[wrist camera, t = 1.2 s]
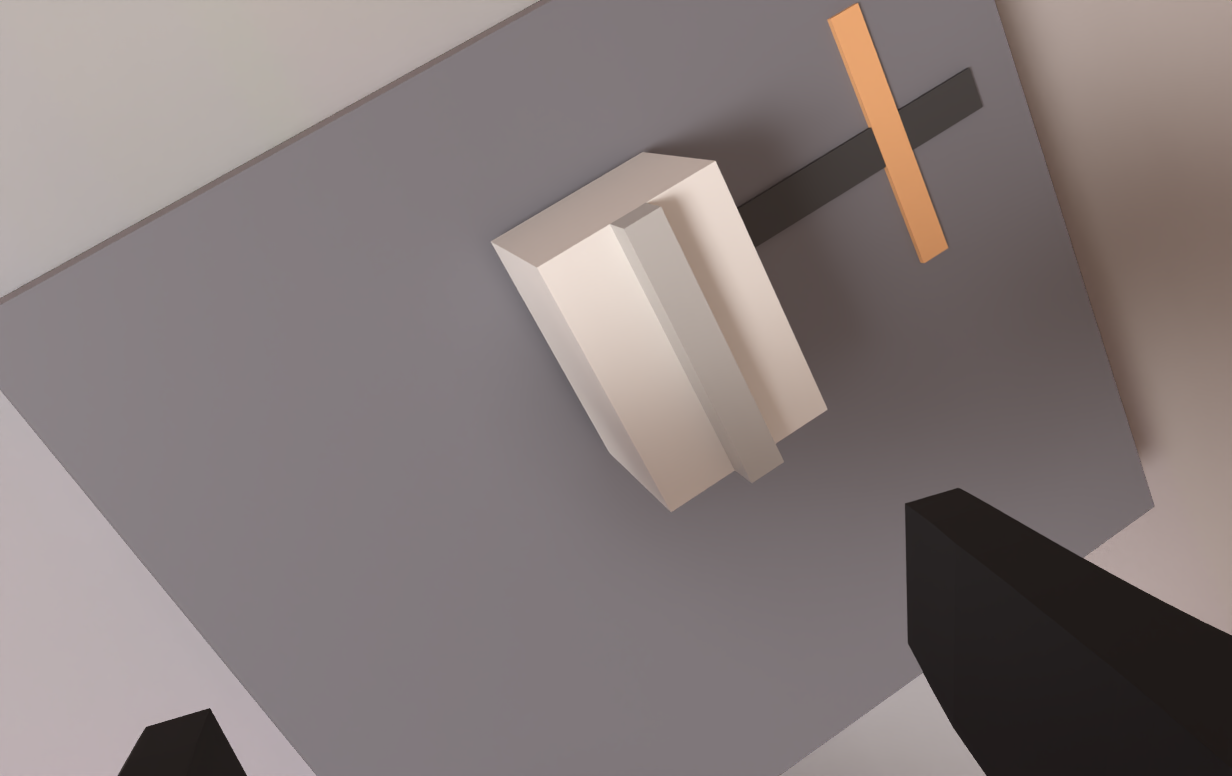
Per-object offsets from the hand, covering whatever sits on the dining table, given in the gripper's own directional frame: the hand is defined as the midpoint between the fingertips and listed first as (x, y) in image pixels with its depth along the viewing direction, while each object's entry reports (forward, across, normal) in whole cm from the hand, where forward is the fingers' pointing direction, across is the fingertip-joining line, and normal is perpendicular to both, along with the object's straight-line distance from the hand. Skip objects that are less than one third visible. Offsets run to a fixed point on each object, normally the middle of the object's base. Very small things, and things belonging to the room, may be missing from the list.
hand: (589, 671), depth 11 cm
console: (+10, -3, +4) cm, 11 cm away
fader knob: (+8, -2, 0) cm, 9 cm away
